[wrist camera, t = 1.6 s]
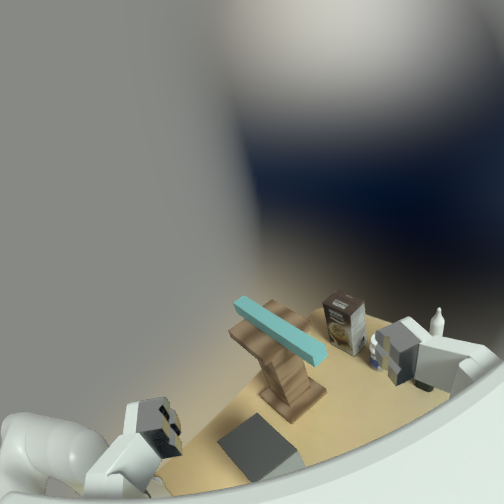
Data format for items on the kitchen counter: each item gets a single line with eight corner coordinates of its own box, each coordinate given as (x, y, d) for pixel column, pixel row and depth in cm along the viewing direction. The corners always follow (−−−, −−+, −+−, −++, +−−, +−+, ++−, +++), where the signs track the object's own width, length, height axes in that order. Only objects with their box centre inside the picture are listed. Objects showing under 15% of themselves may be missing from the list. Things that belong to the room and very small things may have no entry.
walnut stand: (326, 392, 71) (310, 320, 59) (291, 424, 66) (262, 358, 54) (295, 370, 80) (271, 299, 68) (261, 398, 75) (228, 330, 63)
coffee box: (329, 344, 85) (321, 302, 77) (343, 330, 87) (337, 288, 80) (353, 357, 77) (348, 315, 70) (368, 342, 80) (364, 299, 73)
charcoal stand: (309, 472, 53) (296, 448, 46) (273, 500, 49) (252, 483, 42) (275, 442, 63) (257, 412, 56) (241, 467, 58) (216, 441, 52)
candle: (423, 371, 65) (433, 296, 54) (440, 378, 61) (455, 303, 50) (413, 385, 63) (422, 312, 51) (430, 393, 59) (445, 320, 47)
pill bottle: (377, 352, 76) (377, 326, 71) (395, 359, 72) (396, 334, 67) (365, 366, 73) (364, 342, 69) (383, 375, 69) (383, 350, 65)
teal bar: (327, 356, 50) (325, 344, 48) (315, 367, 48) (312, 356, 47) (248, 305, 69) (243, 295, 67) (237, 313, 67) (232, 302, 66)
